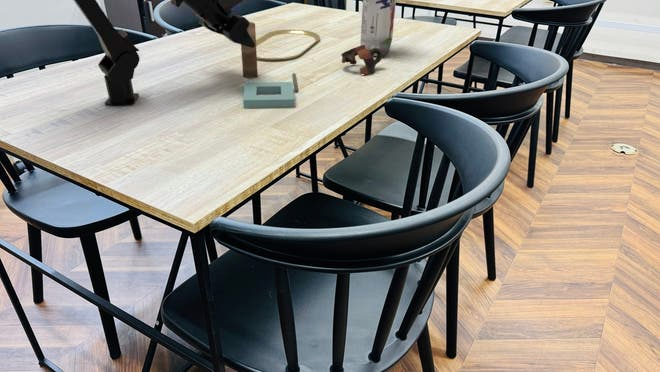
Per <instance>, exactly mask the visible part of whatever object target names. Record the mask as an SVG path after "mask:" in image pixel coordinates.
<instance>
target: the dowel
mask: <svg viewBox="0 0 660 372" xmlns="http://www.w3.org/2000/svg"><path fill="white" fill-rule="evenodd" d="M249 22H250V24H249V27H248V28H247V31H248V33H249V35H250V37H251V38H252V40H253V41H254V43H255V46H254V48H251V47H248V46H245V45H241V44H240V49H241V50H240V51H241V64H242V76H243V78H246V79H255V78H257V77H258V76H259V75H258V60H257V57H258V55H257V46H256V40H257V37H256V36H257V34H256V23H255V22H251V21H249Z"/></svg>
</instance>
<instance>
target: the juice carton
mask: <svg viewBox="0 0 660 372" xmlns="http://www.w3.org/2000/svg"><path fill="white" fill-rule="evenodd" d="M396 2H397V1H396V0H362V10H361V11H362V12H361V27H360V28H361V29H360V46H361V45H365V48H366V49H368V50H371V49H374V48H379V49H380V50H381V52H382V57H383V58H385V57H386V54H387V53H388V52H389V51H390V48H391V45H392V43H393V42H392V41H393V35H394V34H393V33H394V26H395V25H394V24H395V13H396V5H397V4H396ZM373 56H377V53H375V54H374V55H373Z"/></svg>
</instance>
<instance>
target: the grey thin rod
mask: <svg viewBox="0 0 660 372" xmlns="http://www.w3.org/2000/svg"><path fill="white" fill-rule="evenodd" d="M292 80H293V81H292V83H293V91H294V92H295V93H298V91H299V87H298V80H297V74H296V73H295V72H293V73H292Z"/></svg>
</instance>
